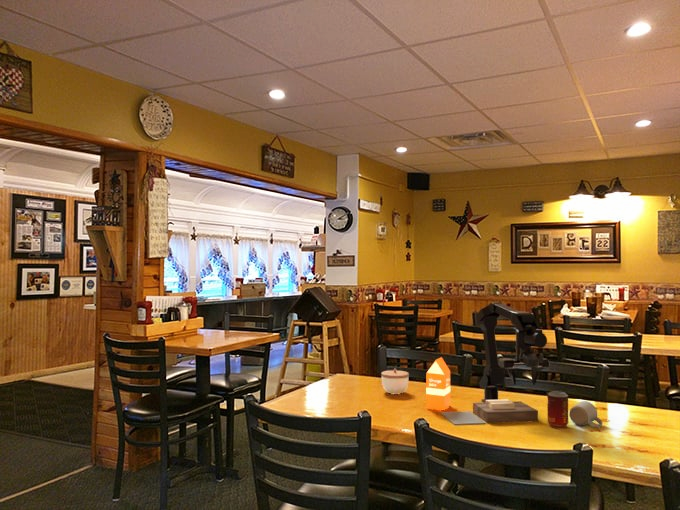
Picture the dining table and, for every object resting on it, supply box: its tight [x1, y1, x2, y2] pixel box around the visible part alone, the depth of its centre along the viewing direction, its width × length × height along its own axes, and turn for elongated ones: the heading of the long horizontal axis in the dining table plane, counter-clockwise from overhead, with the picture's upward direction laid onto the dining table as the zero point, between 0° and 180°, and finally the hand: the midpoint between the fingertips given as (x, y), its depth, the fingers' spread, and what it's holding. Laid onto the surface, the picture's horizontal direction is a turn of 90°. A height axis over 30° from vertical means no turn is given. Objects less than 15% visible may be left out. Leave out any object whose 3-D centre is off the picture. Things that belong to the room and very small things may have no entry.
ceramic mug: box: [568, 400, 603, 429], centre depth 198 cm, size 11×8×8 cm
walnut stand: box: [472, 400, 539, 424], centre depth 208 cm, size 14×20×4 cm
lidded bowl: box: [380, 368, 410, 395], centre depth 247 cm, size 13×13×11 cm
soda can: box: [546, 390, 569, 430], centre depth 196 cm, size 7×7×12 cm
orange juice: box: [425, 356, 451, 411], centre depth 222 cm, size 8×9×20 cm
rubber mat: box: [440, 410, 487, 426], centre depth 205 cm, size 16×12×1 cm
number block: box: [485, 398, 514, 409], centre depth 207 cm, size 6×9×2 cm, turn 97°
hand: (524, 384), depth 209 cm, fingers open, 8 cm apart
